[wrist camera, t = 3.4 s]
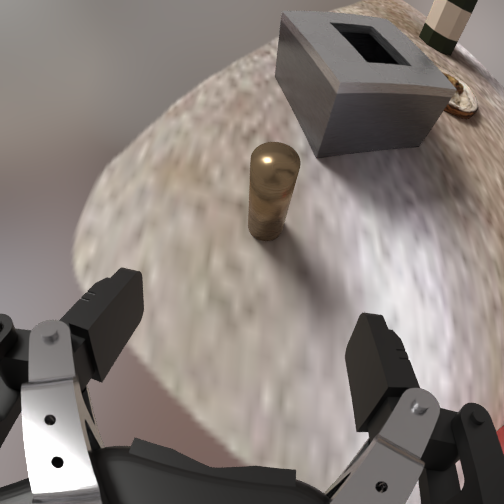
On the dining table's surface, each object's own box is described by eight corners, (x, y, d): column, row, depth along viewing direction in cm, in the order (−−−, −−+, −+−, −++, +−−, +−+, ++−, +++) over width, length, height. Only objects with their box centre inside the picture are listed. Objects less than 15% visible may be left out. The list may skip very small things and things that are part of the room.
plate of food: (417, 56, 40) (425, 40, 36) (482, 106, 37) (493, 92, 33) (389, 79, 36) (398, 59, 32) (469, 142, 33) (484, 125, 29)
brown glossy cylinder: (277, 206, 27) (291, 138, 18) (287, 236, 26) (307, 176, 17) (244, 213, 27) (245, 146, 18) (253, 244, 26) (258, 185, 17)
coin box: (367, 73, 35) (387, 19, 26) (418, 146, 30) (456, 89, 21) (274, 76, 34) (281, 10, 24) (316, 158, 29) (340, 82, 20)
